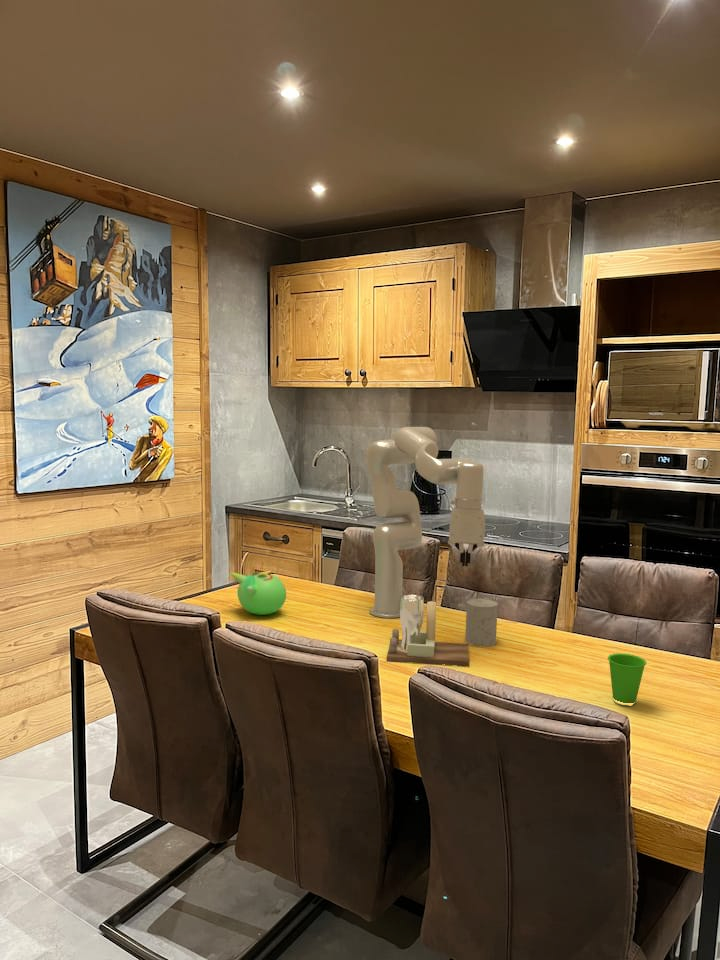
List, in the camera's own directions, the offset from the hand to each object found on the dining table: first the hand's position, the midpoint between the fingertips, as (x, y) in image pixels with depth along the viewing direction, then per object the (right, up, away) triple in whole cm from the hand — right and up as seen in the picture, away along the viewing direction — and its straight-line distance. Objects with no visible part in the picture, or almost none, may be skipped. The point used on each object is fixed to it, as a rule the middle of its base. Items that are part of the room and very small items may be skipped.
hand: (464, 565), depth 216 cm
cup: (+35, -30, -35) cm, 58 cm away
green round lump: (-65, -21, +33) cm, 76 cm away
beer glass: (-16, -24, -3) cm, 29 cm away
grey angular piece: (-13, -24, -4) cm, 28 cm away
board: (-11, -26, -4) cm, 28 cm away
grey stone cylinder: (+6, -25, +9) cm, 27 cm away
